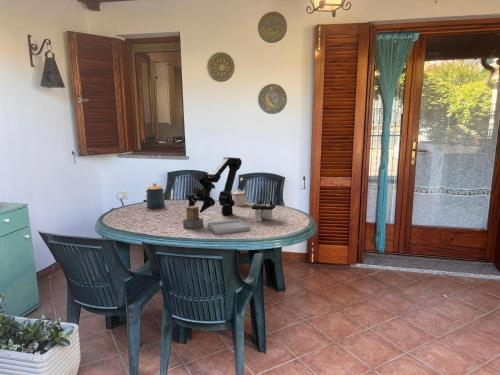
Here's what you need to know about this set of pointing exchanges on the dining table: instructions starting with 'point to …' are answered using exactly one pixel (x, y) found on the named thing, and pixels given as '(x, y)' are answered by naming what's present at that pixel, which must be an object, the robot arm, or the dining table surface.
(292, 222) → the dining table surface
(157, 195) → the canister
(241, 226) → the plastic tray
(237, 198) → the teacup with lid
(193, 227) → the charcoal open-top box
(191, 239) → the dining table surface
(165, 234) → the dining table surface
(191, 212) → the walnut block
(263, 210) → the black-topped pedestal
